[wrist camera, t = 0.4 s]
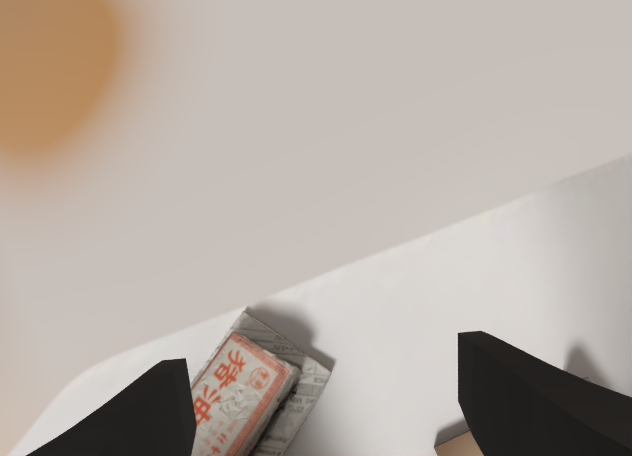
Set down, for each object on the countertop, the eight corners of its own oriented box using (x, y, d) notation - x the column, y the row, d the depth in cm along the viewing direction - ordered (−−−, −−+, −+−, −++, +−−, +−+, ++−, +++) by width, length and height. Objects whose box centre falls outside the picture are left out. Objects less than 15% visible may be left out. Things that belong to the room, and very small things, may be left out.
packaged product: (176, 603, 30) (81, 501, 33) (204, 582, 34) (118, 493, 38) (327, 366, 34) (229, 298, 38) (335, 374, 39) (247, 312, 42)
